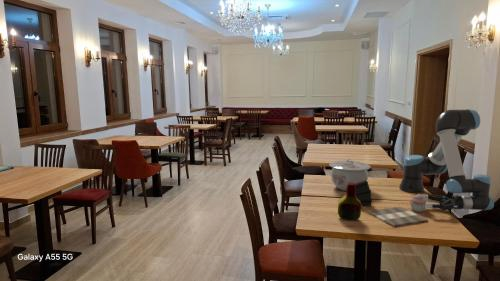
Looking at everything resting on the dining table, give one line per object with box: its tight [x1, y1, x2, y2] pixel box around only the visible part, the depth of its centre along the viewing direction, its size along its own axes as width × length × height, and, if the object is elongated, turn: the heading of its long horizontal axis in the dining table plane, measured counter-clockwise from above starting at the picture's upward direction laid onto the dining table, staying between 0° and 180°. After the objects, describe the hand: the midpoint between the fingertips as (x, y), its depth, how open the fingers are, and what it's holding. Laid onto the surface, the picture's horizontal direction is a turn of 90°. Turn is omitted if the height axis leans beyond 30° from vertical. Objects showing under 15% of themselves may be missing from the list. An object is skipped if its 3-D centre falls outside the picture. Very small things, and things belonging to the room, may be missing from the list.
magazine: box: [355, 180, 373, 207], centre depth 196 cm, size 4×13×15 cm, turn 67°
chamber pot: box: [329, 159, 372, 192], centre depth 226 cm, size 28×28×21 cm
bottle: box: [337, 183, 363, 221], centre depth 174 cm, size 12×6×20 cm, turn 67°
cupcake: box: [409, 193, 427, 213], centre depth 186 cm, size 9×9×10 cm
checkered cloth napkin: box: [367, 206, 429, 228], centre depth 177 cm, size 22×20×1 cm
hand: (420, 201), depth 185 cm, fingers open, 13 cm apart
